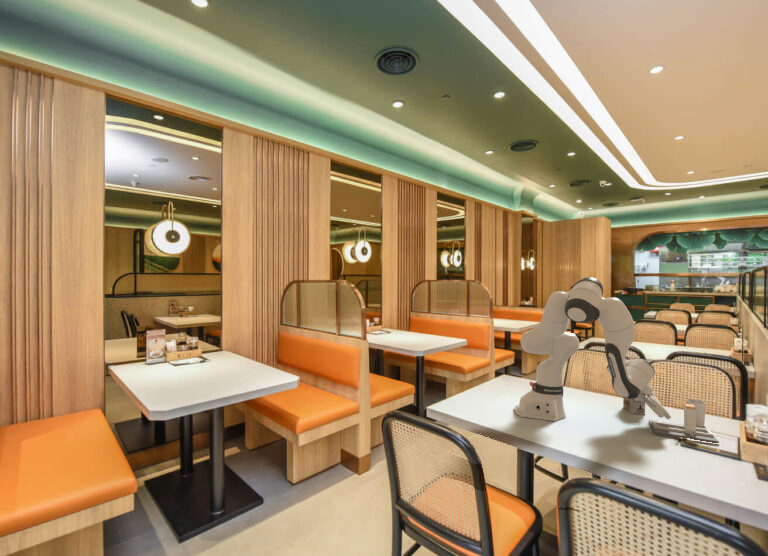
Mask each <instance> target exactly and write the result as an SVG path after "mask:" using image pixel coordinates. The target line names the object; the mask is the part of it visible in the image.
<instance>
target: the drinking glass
mask: <svg viewBox="0 0 768 556" xmlns="http://www.w3.org/2000/svg"><path fill="white" fill-rule="evenodd" d="M685 404H692V405H694V406H695V407H696V427H705V421H706V408H707V407H706V405H707V404H706V402H705V401H703V400H701V399H695V398H686V400H685Z"/></svg>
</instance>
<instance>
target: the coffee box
mask: <svg viewBox="0 0 768 556" xmlns="http://www.w3.org/2000/svg"><path fill="white" fill-rule="evenodd" d="M622 399H623V404H622V405H623V406H622V407H623V408H624V409H625V410H626V411H628V412H629V413H630V414H633V415H634V414H635V415H645V414H646V403H645V402H641V401H640V400H639V401H636V400H635V399H627V398H623V397H622Z"/></svg>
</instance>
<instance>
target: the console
mask: <svg viewBox="0 0 768 556" xmlns="http://www.w3.org/2000/svg"><path fill="white" fill-rule="evenodd" d="M648 426H649V427H650V429H651V430H652V432H653V433H654V435H655V436H657V437H658V436H659V437H665V438H668V439H669V438H670V439H676V438H679V437H682V438H690V439H694V440H700V441H706V442H712V443H720V441H719V440H718V439H717V438H716V437H715V435H714V434H713V432H712V431H711V430H710V429H709V428H707V427H706V428H705V427H701V426H696V431H690V430H685V429H684V424H680V423H679V424H678V423H671V422H664V421H658V420H652V419H651V420H648Z"/></svg>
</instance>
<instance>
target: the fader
mask: <svg viewBox="0 0 768 556" xmlns="http://www.w3.org/2000/svg"><path fill="white" fill-rule="evenodd" d="M683 412H684V413H683V425H684V429H685V430H690V431H696V427H697V426H696V407H695V406H694V405H692V404H686V403H683Z"/></svg>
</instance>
